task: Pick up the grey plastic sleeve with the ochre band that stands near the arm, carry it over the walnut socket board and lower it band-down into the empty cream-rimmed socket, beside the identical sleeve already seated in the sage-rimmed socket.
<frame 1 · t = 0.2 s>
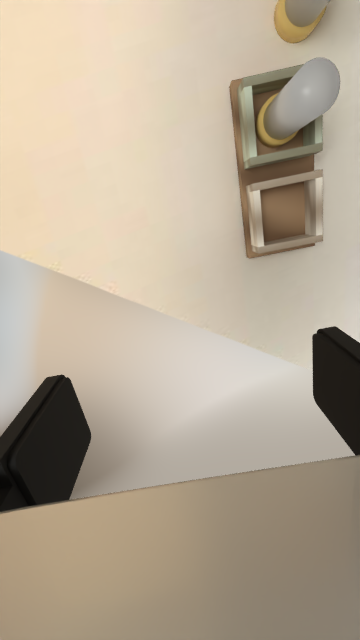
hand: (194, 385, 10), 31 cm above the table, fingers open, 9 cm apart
sleeve: (296, 14, 30), on the table
socket board: (273, 172, 36), on the table
seated sleeve: (274, 124, 32), point 1 cm above the table, touching socket board
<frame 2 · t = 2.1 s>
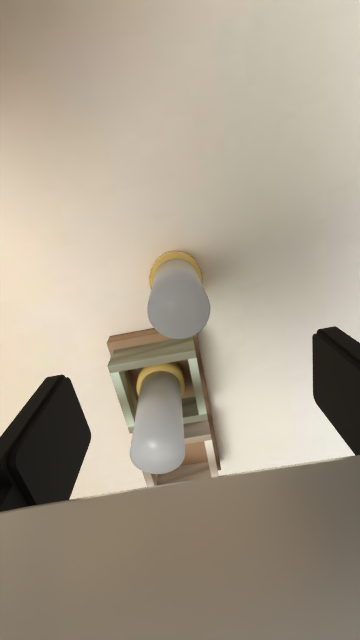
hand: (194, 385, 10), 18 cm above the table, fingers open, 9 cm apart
sleeve: (175, 276, 27), on the table
socket board: (170, 404, 32), on the table
seated sleeve: (161, 376, 29), point 1 cm above the table, touching socket board
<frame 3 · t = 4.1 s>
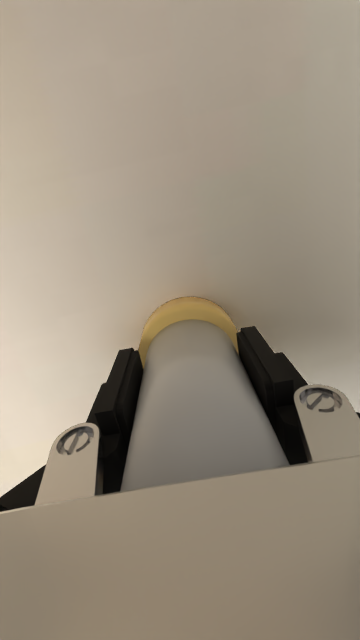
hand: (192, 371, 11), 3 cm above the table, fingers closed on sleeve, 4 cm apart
sleeve: (189, 342, 14), on the table, touching gripper
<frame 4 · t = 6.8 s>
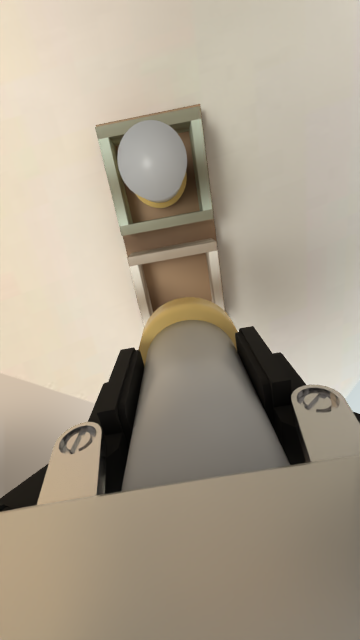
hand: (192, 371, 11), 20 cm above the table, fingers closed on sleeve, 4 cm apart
sleeve: (189, 342, 14), point 17 cm above the table, touching gripper
socket board: (169, 234, 28), on the table
seated sleeve: (159, 179, 25), point 1 cm above the table, touching socket board
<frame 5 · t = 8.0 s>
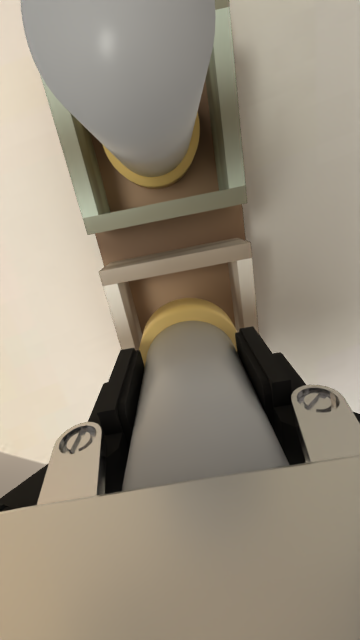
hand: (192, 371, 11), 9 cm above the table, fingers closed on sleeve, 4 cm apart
sleeve: (189, 343, 14), point 6 cm above the table, touching gripper
socket board: (170, 232, 18), on the table
seated sleeve: (152, 140, 15), point 1 cm above the table, touching socket board
when the fingers open (6 cm above the table, at t = 9.0 s): sleeve drops 1 cm, resting on socket board.
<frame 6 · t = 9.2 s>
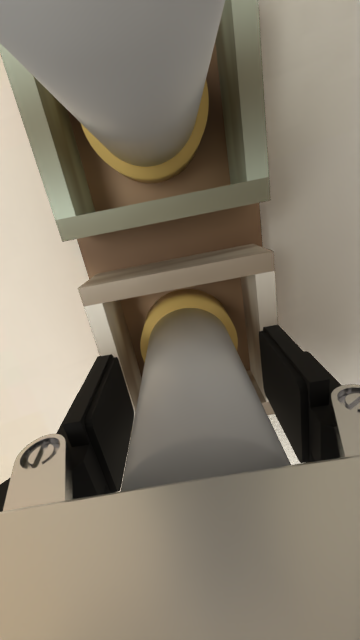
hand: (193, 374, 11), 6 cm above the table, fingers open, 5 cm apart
sleeve: (187, 330, 15), point 2 cm above the table, touching socket board
socket board: (170, 237, 15), on the table
seated sleeve: (147, 121, 12), point 1 cm above the table, touching socket board
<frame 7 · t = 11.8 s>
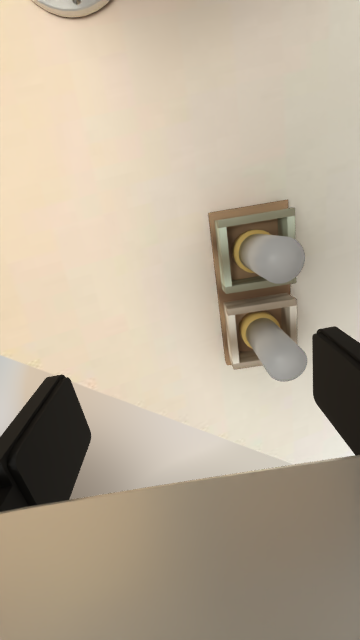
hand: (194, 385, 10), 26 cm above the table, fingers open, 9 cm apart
sleeve: (256, 327, 36), point 2 cm above the table, touching socket board
socket board: (251, 288, 36), on the table
seated sleeve: (251, 250, 33), point 1 cm above the table, touching socket board
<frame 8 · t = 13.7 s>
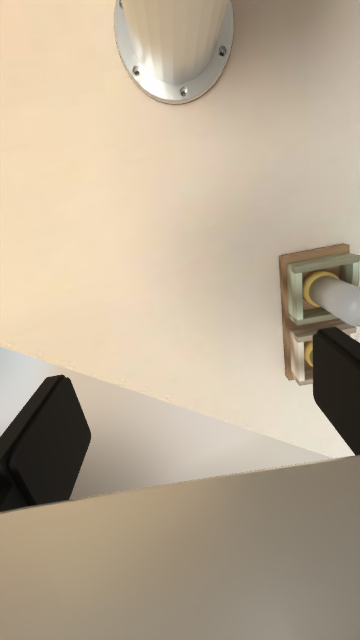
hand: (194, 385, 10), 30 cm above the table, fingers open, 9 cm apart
sleeve: (316, 348, 43), point 2 cm above the table, touching socket board
socket board: (311, 315, 42), on the table
seated sleeve: (316, 286, 39), point 1 cm above the table, touching socket board
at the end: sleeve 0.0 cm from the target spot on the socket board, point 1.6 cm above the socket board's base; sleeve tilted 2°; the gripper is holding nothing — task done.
